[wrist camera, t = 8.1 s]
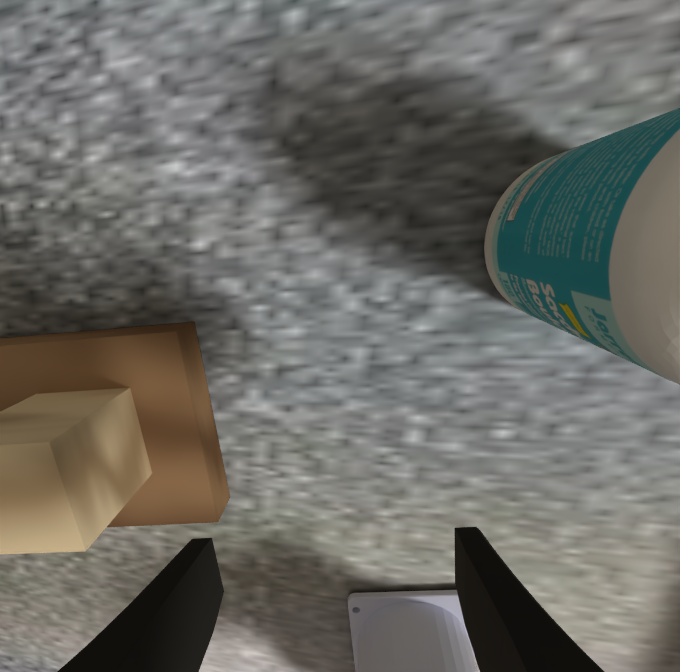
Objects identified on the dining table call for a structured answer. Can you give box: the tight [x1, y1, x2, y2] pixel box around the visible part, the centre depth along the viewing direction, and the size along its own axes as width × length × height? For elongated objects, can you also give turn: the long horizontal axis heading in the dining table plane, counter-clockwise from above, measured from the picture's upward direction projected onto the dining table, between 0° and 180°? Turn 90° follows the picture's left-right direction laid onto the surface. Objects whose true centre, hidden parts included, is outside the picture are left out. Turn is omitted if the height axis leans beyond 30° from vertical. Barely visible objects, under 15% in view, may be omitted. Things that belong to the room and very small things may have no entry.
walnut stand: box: [0, 322, 230, 527], centre depth 20 cm, size 11×11×2 cm
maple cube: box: [0, 388, 152, 554], centre depth 17 cm, size 5×5×5 cm
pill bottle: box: [484, 108, 680, 384], centre depth 11 cm, size 8×7×14 cm
